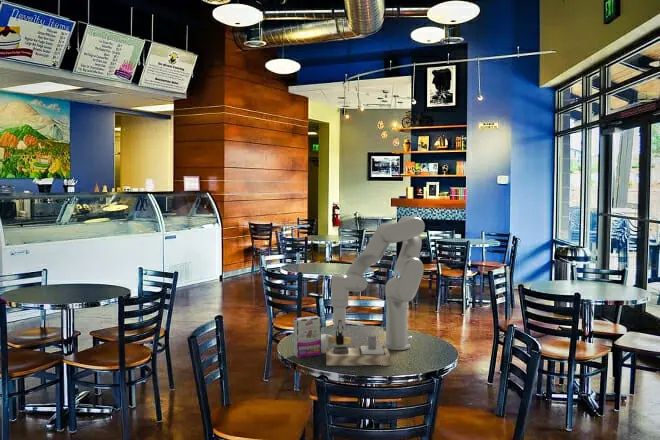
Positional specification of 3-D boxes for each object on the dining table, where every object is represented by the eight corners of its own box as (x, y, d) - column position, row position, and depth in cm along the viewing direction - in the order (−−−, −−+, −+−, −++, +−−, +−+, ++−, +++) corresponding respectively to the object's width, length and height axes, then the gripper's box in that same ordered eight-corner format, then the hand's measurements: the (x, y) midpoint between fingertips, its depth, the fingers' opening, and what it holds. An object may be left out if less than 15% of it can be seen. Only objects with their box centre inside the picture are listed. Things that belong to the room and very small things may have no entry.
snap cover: (361, 354, 242) (362, 339, 242) (360, 348, 251) (360, 334, 251) (383, 354, 242) (384, 339, 242) (381, 348, 251) (381, 334, 251)
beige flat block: (326, 365, 240) (326, 351, 240) (326, 357, 252) (326, 344, 252) (390, 365, 241) (390, 352, 240) (387, 357, 253) (387, 344, 252)
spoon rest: (305, 341, 280) (305, 326, 280) (329, 340, 282) (329, 325, 282) (311, 354, 257) (311, 338, 257) (338, 353, 259) (338, 337, 258)
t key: (350, 350, 264) (350, 336, 264) (350, 352, 260) (351, 338, 260) (327, 349, 264) (328, 335, 264) (327, 351, 260) (328, 337, 260)
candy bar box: (316, 352, 260) (316, 315, 259) (321, 355, 255) (321, 317, 254) (292, 355, 255) (293, 317, 254) (297, 358, 250) (297, 319, 250)
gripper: (331, 299, 270) (330, 337, 270) (331, 306, 252) (331, 347, 253) (347, 299, 270) (347, 337, 270) (349, 306, 252) (348, 347, 253)
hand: (339, 341), depth 262 cm, fingers open, 8 cm apart
